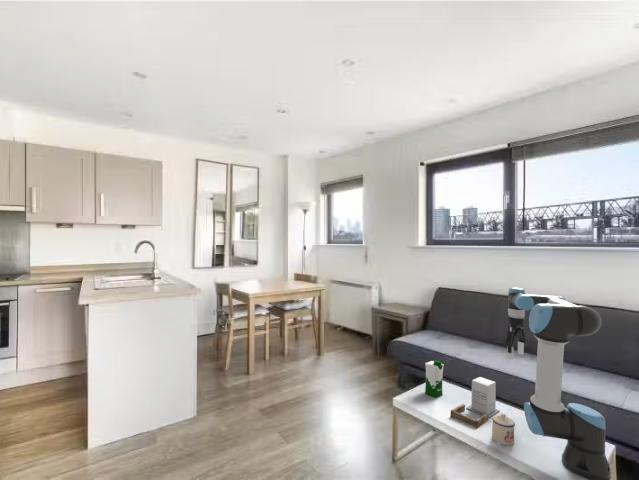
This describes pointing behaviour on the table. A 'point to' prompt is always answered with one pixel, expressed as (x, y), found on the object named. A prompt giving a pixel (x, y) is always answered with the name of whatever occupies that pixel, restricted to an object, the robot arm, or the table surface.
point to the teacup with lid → (503, 429)
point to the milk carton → (434, 378)
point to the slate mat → (483, 413)
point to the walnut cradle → (475, 423)
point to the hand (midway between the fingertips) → (515, 356)
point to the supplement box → (483, 395)
